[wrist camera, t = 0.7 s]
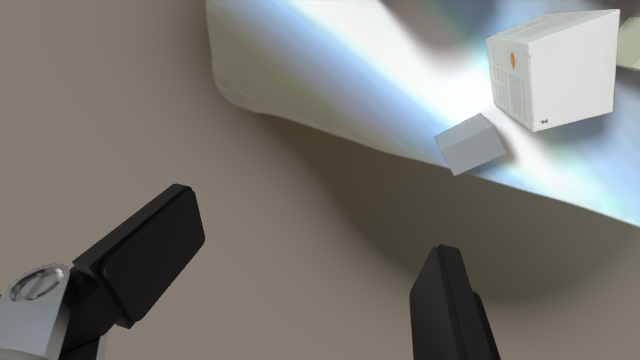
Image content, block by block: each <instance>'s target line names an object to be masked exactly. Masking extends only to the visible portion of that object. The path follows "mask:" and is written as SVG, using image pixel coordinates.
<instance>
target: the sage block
mask: <svg viewBox="0 0 640 360" xmlns="http://www.w3.org/2000/svg"><path fill="white" fill-rule="evenodd" d="M616 66H618V67H622V68H626V69H630V70H634V71H640V17H628V18H627V19H626V21H625V22H624V23H623V24H622V26H621V27H620V28H619V35H618V50H617V65H616Z"/></svg>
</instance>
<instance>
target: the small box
mask: <svg viewBox="0 0 640 360" xmlns="http://www.w3.org/2000/svg"><path fill="white" fill-rule="evenodd" d="M620 12H621V10H620V9H609V10H595V11H580V12H567V13H553V14H544V15H541V16H538V17H536V18H533V19H530V20H528V21H525V22H523V23H520V24H518V25H515V26H513V27H510V28H508V29H505V30H503V31H500V32H498V33H495V34H493V35H491V36H488V37H486V38H485V40H486V47H487V55H488V62H489V70H490V78H491V85H492V93H493V102H494V104H495V105H496V106H498V107H499V108H500V109H502V110H503V111H504V112H506V113H507V114H508V115H510V116H511V117H512V118H514V119H515V120H516V121H518V122H519V123H521V124H522V125H523V126H525V127H526V128H527V129H529V130H530V131H531V132H536V131H540V130H544V129H548V128H552V127H556V126H560V125H564V124H568V123H572V122H575V121H579V120H583V119H587V118H591V117H595V116H599V115H602V114H606V113H610V112H613V109H614V95H615V80H616V65H617V50H618V35H619V23H620Z"/></svg>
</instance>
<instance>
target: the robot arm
mask: <svg viewBox="0 0 640 360" xmlns="http://www.w3.org/2000/svg"><path fill="white" fill-rule="evenodd" d="M204 241H205V235H204V230H203V226H202V221H201V217H200V213H199V209H198V204H197V200H196V196H195V192H194V191H192V188H191V187H189V186H185V185H180V184H173V185H171V186H170V187H169V188H167V189H166V190H165V191H163V192H162V193H161V194H160V195H158V196H157V197H156V198H154V199H153V200H152V201H151V202H149V203H148V204H147V205H145V206H144V207H143V208H141V209H140V210H139V211H137V212H136V213H135V214H134V215H132V216H131V217H130V218H128V219H127V220H126V221H124V222H123V223H122V224H121V225H119V226H118V227H117V228H115V229H114V230H113V231H111V232H110V233H109V234H108V235H106V236H105V237H104V238H102V239H101V240H100V241H98V242H97V243H96V244H94V245H93V246H92V247H91V248H89V249H88V250H87V251H85V252H84V253H83V254H81V255H80V256H79V257H78V258H76V259H75V260H74V261H73V262H72V263H73V264H74V267H73V268H71V269H69V268H68V266H66V265H64V264H56V263H54V264H48V265H43V266H40V267H37V268H35V269H32V270H31V271H28V272H26V273H24V274H23V275H21V276H20V277H18V278H17V279H15V280H14V281H13V282H12V283H11V284H10V285H9V286H7V288H6V289H5V291H4V292H3V293H2V294H1V295H0V360H104V359H105V352H106V346H107V338H108V332H109V329H110V328H111V327H112V326H113V325H114V324H116V325H118V326H122V327H124V328H127V329H130V328H131V327H132V326H133V325H134V324H135V322H137V321H140V320H141V319H142V318H143V317H144V316H145V315H146V314H147V313H148V311H149V310H150V309H151V308H152V306H153V305H154V304H155V303H156V301H157V300H158V299H159V298H160V297H161V295H162V294H163V293H164V292H165V291H166V289H167V288H168V287H169V286H170V285H171V283H172V282H173V281H174V280H175V278H176V277H177V276H178V275H179V274H180V272H181V271H182V270H183V269H184V268H185V266H186V265H187V264H188V263H189V261H190V260H191V259H192V258H193V257H194V255H195V254H196V253H197V252H198V250H199V249H200V248H201V247H202V245H203V244H204ZM410 314H411V328H412V341H413V356H414V360H501V359H500V356H499V353H498V349H497V346H496V343H495V340H494V337H493V334H492V331H491V328H490V325H489V322H488V319H487V316H486V313H485V310H484V306H483V303H482V300H481V298H480V296H479V295H478V294H477V292H474V291H472V289H471V286H470V283H469V279H468V276H467V273H466V269H465V266H464V263H463V259H462V256H461V253H460V250H459V249H458V248H456V247H451V246H447V245H443V244H440V245H439V246H438V247H433V248H432V250H431V251H430V253H429V255H428V257H427V259H426V261H425V264H424V266H423V267H422V269H421V271H420V273H419V275H418V277H417V279H416V282H415V283H414V285H413V287H412V289H411V292H410Z"/></svg>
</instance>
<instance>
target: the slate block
mask: <svg viewBox="0 0 640 360" xmlns="http://www.w3.org/2000/svg"><path fill="white" fill-rule="evenodd" d="M434 138H435V140H436V143H437V145H438V147H439V150H440V152H441V154H442V155H443V157H444V159H445V161H446V162H447V164H448V166H449V167H450V169H451V171H452V172H453V174H454V176H455V175H458V174H460V173H463V172H465V171H467V170H470V169H472V168H474V167H477V166H479V165H481V164H484V163H486V162H488V161H491V160H493V159H495V158H498V157H500V156H502V155H505V154H507V152H506V150H505V148H504V146H503V144H502V142H501V140H500V138H499V136H498V133H497V131H496V129H495V127H494V125H492V124H491V123H490V122H489V121H488V120H487V119H486V118H485V117H484V116H483V115H482V114H481V113H479V114H477V115H475V116H473V117H471V118H469V119H467V120H465V121H463V122H462V123H460V124H458V125H456V126H454V127H452V128H450V129H448V130H446V131H444V132H442V133H440V134H438V135H436V136H435V137H434Z"/></svg>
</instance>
